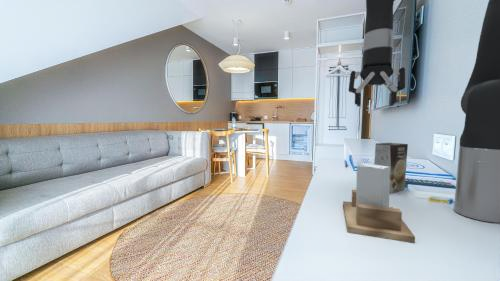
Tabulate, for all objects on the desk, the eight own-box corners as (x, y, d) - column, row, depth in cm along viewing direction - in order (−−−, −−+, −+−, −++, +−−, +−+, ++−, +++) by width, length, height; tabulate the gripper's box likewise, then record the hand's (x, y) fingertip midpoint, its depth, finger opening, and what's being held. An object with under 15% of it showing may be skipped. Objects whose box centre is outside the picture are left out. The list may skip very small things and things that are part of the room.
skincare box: (389, 217, 51) (392, 166, 50) (381, 222, 49) (385, 168, 48) (362, 209, 56) (364, 162, 55) (353, 213, 53) (356, 164, 52)
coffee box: (391, 193, 72) (394, 145, 71) (372, 188, 77) (374, 143, 76) (405, 189, 77) (408, 143, 75) (386, 185, 82) (388, 142, 81)
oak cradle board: (392, 211, 58) (393, 192, 57) (414, 242, 43) (416, 216, 42) (342, 205, 62) (343, 187, 61) (347, 232, 47) (348, 208, 46)
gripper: (402, 51, 65) (398, 106, 66) (349, 55, 70) (347, 107, 71) (411, 42, 58) (406, 104, 59) (351, 48, 63) (349, 105, 64)
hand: (374, 106), depth 65 cm, fingers open, 8 cm apart
